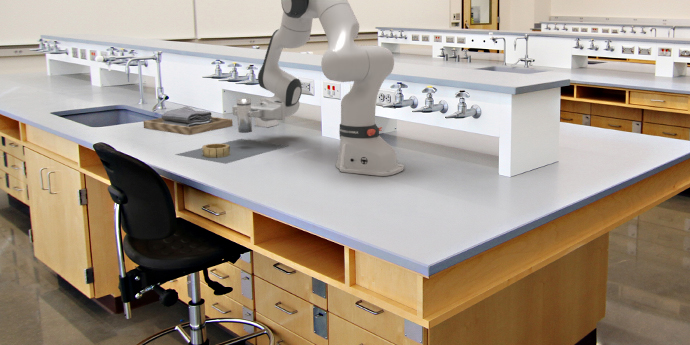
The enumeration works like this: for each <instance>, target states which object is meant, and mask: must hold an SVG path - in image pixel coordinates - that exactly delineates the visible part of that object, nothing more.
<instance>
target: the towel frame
mask: <svg viewBox="0 0 690 345" xmlns="http://www.w3.org/2000/svg"><path fill="white" fill-rule="evenodd" d="M209 119H211V120H212V121H211V123H208V124H203V125H198V126H193V127H186V126H179V125H172V124H165V123H162V122H163V121H164V120H163V119H162V117H160V118H154V119H149V120H144V121H143V120H142V121H143V122H142V123H143V128H144V129H147V128H149V129H148V130H154V131H162V132H163V131H164V132H168V133H175V134H182V135H186V136H187V135H188V136H191V135H196V134H201V133H205V132H210V130H211V131H215V130H220V129H224V128H229V127H230V128H231V127H233V118H225V117H219V116H218V117H217V116H216V117H215V116H212V118H209Z"/></svg>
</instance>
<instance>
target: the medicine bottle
mask: <svg viewBox="0 0 690 345" xmlns="http://www.w3.org/2000/svg"><path fill="white" fill-rule="evenodd" d="M254 121H255V127H260V128H261V127H262V128H271V127H275V126H278V120H272V121H262V120H261V119H260V118H257V117H254Z"/></svg>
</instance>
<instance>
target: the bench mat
mask: <svg viewBox="0 0 690 345" xmlns="http://www.w3.org/2000/svg"><path fill="white" fill-rule="evenodd" d="M220 144H228V145H230V155H229V156H225V157H218V158H217V157H216V158H210V157H204V156H203V153H202V147H201V148H197V149H192V150H188V151H184V152H181V153H180V152H179V153H176V154H175V156H181V157H184V158H185V157H186V158H191V159H192V158H193V159H198V160H203V161H209V162H215V163H219V164H225V165H226V164H230V163H233V162H237V161H240V160H243V159H247V158H251V157H254V156H258V155H261V154H266V153H268V152H269V153H270V152H272V151H276V150H279V149H283V148H287V147H288V145H286V144H279V143H273V142H265V141H259V140H258V141H257V140H252V139H246V138H239V139H234V140H231V141H226V142H223V143H221V142H220Z"/></svg>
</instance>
